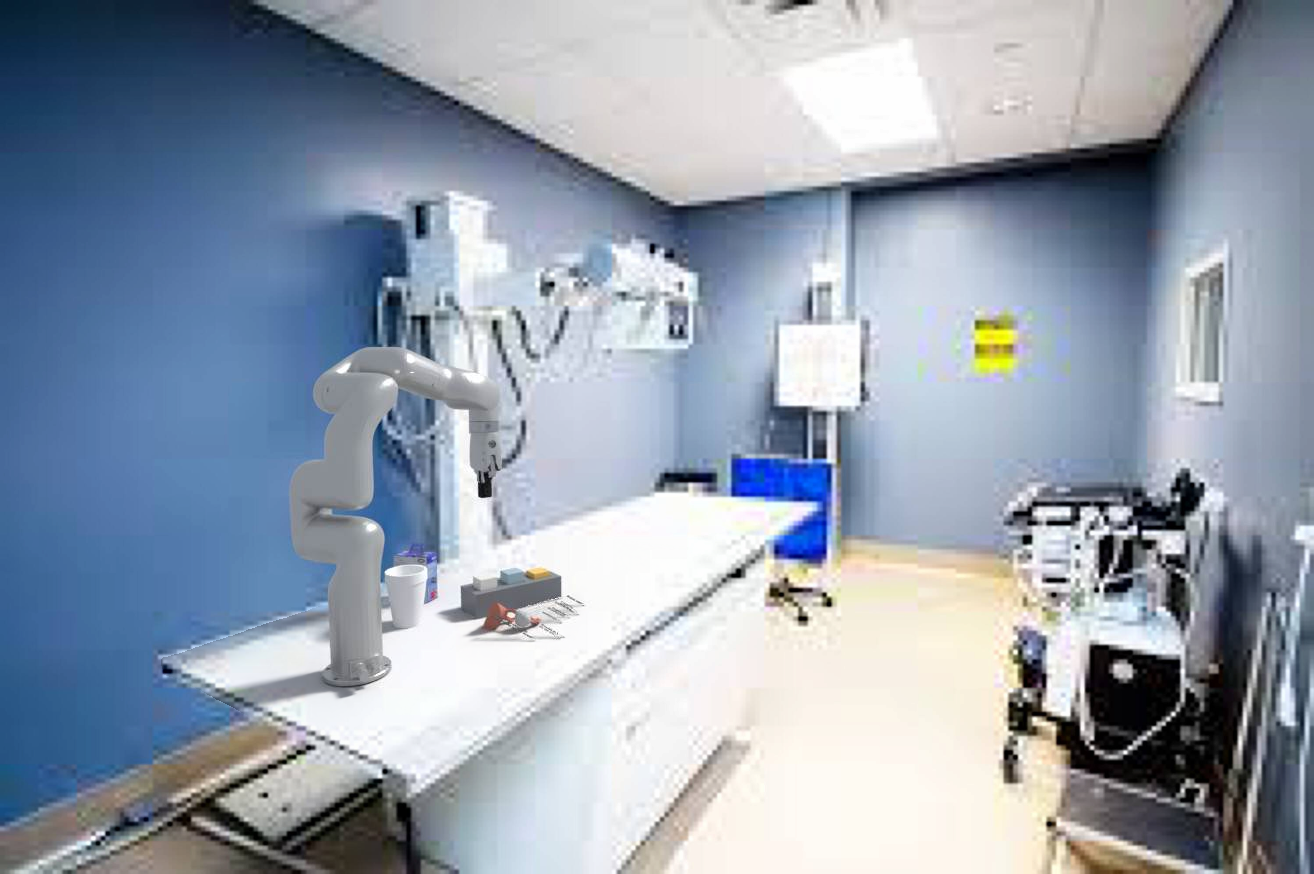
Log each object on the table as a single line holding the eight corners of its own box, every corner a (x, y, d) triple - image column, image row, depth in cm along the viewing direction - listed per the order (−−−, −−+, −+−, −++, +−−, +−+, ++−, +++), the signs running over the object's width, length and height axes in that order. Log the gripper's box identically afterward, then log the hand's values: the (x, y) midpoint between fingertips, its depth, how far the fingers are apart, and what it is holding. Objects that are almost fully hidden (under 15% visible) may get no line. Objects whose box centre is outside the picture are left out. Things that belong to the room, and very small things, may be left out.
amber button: (549, 585, 179) (549, 571, 179) (534, 589, 177) (534, 574, 176) (541, 581, 183) (540, 567, 182) (526, 584, 180) (526, 570, 180)
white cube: (497, 592, 170) (497, 577, 169) (480, 596, 167) (480, 580, 167) (489, 588, 173) (489, 572, 173) (473, 591, 170) (472, 576, 170)
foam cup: (384, 632, 155) (382, 577, 154) (388, 618, 164) (386, 566, 163) (427, 628, 158) (426, 574, 157) (429, 614, 167) (428, 563, 165)
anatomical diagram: (485, 605, 153) (533, 569, 177) (473, 637, 155) (522, 597, 179) (563, 648, 149) (602, 606, 173) (550, 680, 151) (590, 634, 175)
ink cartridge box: (439, 596, 180) (437, 543, 179) (428, 603, 175) (426, 548, 173) (405, 593, 182) (403, 541, 181) (393, 600, 177) (391, 546, 175)
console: (561, 598, 179) (561, 576, 179) (476, 618, 164) (476, 595, 164) (544, 589, 186) (544, 568, 186) (461, 608, 171) (460, 585, 171)
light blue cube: (524, 586, 175) (523, 571, 174) (508, 590, 172) (508, 574, 171) (515, 582, 178) (515, 567, 178) (500, 585, 175) (500, 570, 175)
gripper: (510, 429, 172) (511, 499, 174) (484, 425, 184) (485, 491, 186) (482, 430, 168) (484, 503, 169) (458, 426, 179) (459, 494, 181)
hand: (485, 497), depth 178 cm, fingers closed
